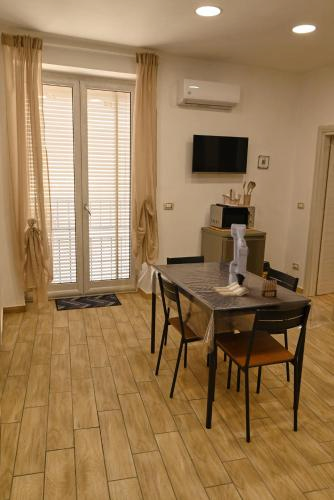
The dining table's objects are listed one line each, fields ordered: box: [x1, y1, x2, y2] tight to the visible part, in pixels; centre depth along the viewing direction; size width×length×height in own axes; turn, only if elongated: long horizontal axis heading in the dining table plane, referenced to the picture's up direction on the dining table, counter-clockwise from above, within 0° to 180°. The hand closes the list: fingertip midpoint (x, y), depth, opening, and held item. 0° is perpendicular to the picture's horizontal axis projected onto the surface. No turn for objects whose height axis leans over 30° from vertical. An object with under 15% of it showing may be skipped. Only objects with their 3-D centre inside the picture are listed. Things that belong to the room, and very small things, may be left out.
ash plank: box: [225, 282, 250, 297], centre depth 266 cm, size 18×8×2 cm, turn 15°
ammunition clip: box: [260, 279, 278, 298], centre depth 260 cm, size 11×2×12 cm, turn 109°
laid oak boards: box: [212, 286, 238, 298], centre depth 264 cm, size 18×9×2 cm, turn 15°
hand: (240, 284), depth 266 cm, fingers closed
